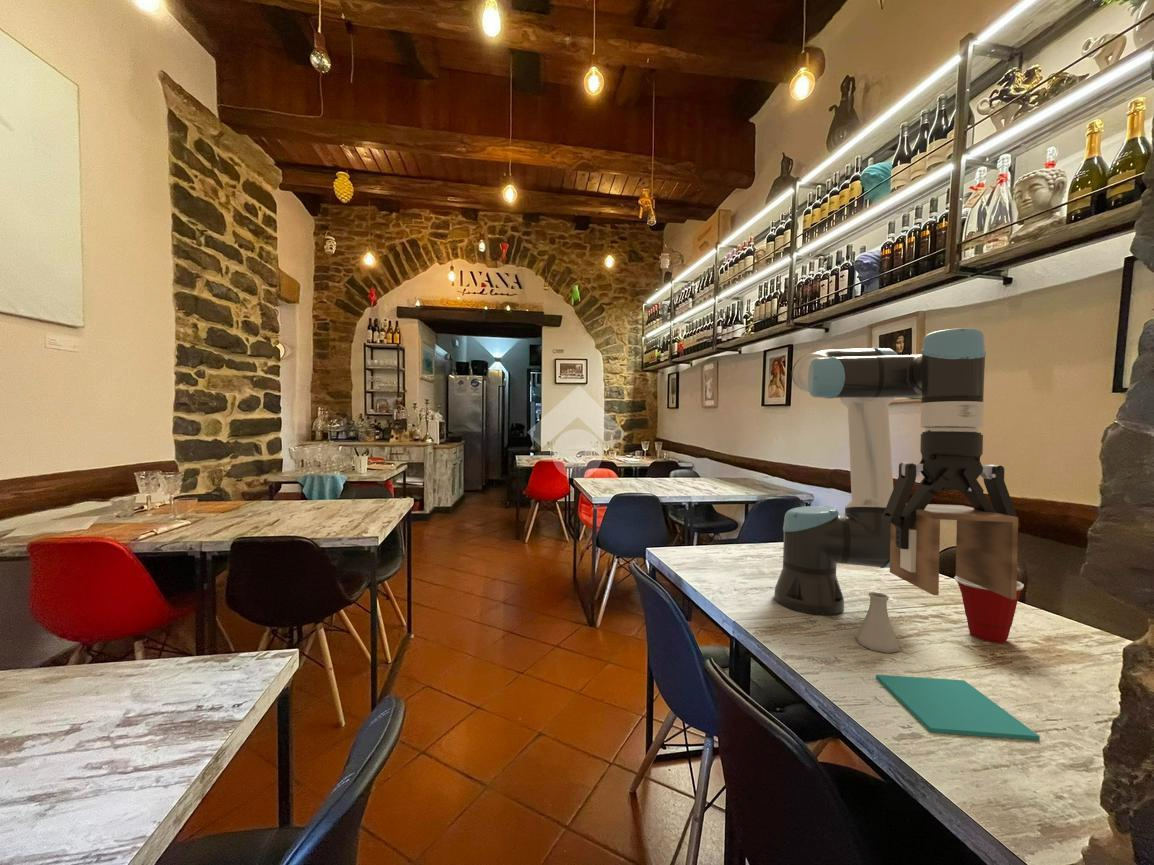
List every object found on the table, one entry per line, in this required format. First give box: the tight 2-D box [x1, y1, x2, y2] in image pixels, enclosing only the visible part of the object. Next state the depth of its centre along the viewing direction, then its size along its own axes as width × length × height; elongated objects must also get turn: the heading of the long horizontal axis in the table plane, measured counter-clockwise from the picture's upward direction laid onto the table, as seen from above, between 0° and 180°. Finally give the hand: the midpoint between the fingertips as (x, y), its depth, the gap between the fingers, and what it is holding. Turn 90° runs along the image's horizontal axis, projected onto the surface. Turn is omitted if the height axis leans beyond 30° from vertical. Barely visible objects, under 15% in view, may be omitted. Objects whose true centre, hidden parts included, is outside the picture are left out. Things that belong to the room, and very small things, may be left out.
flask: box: [855, 591, 901, 654], centre depth 91 cm, size 7×7×10 cm
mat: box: [875, 674, 1041, 741], centre depth 71 cm, size 14×14×1 cm
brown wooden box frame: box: [889, 502, 1019, 600], centre depth 71 cm, size 11×11×12 cm
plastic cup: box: [953, 575, 1025, 644], centre depth 95 cm, size 11×11×12 cm
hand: (948, 571), depth 71 cm, fingers closed on brown wooden box frame, 11 cm apart
